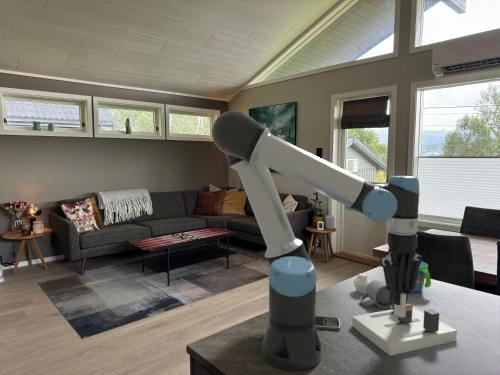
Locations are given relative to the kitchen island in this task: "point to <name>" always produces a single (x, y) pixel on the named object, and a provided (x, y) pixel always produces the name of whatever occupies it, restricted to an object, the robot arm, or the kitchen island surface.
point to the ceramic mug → (377, 295)
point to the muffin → (361, 283)
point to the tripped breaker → (407, 315)
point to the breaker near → (431, 320)
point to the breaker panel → (401, 331)
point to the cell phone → (327, 323)
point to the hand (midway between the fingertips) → (399, 315)
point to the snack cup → (422, 278)
